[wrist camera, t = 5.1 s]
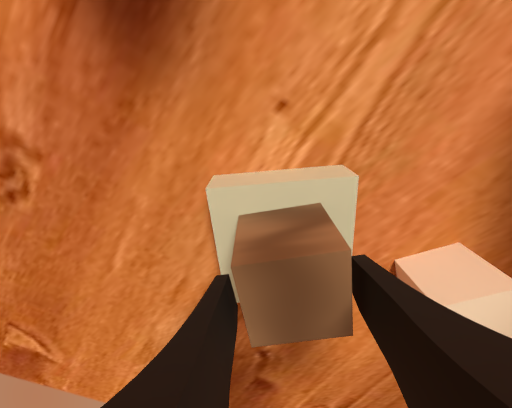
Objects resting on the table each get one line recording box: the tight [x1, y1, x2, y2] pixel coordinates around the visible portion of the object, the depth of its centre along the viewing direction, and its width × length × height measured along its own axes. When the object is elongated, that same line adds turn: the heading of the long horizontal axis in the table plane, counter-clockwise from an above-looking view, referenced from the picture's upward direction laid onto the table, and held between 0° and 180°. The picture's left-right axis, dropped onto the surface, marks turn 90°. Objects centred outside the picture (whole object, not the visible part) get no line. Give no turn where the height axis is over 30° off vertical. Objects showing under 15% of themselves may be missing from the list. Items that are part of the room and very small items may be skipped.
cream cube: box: [394, 243, 512, 338], centre depth 16 cm, size 4×4×4 cm
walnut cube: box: [231, 203, 353, 347], centre depth 12 cm, size 4×4×4 cm
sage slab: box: [206, 165, 359, 303], centre depth 15 cm, size 8×8×3 cm
